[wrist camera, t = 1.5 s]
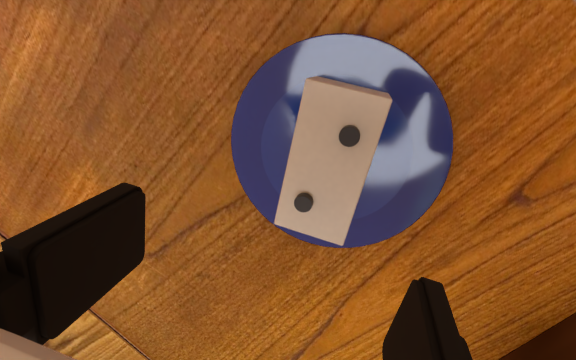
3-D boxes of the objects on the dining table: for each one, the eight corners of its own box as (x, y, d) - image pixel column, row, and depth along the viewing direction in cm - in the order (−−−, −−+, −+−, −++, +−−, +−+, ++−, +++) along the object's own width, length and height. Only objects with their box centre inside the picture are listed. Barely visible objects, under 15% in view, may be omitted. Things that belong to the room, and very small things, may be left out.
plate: (303, -17, 20) (300, -21, 19) (506, 123, 20) (512, 126, 19) (205, 170, 27) (199, 173, 26) (356, 274, 27) (355, 282, 26)
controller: (315, 75, 21) (303, 78, 17) (389, 93, 20) (394, 100, 16) (286, 202, 25) (270, 228, 21) (346, 221, 24) (342, 251, 20)
